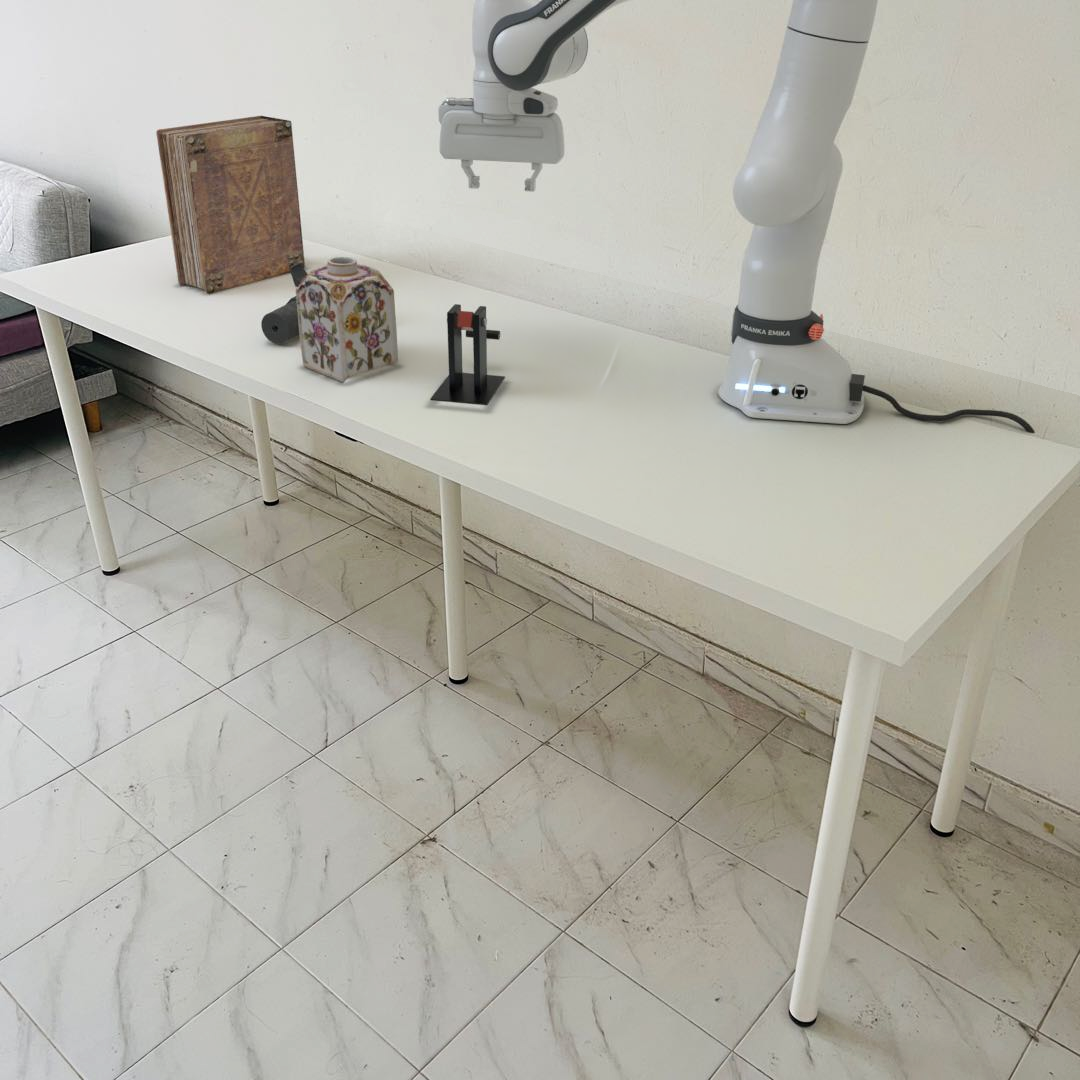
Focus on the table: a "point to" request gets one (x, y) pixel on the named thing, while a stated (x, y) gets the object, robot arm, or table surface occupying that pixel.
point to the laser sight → (284, 314)
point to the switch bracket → (458, 383)
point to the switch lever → (467, 324)
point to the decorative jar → (346, 319)
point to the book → (231, 201)
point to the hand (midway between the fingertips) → (502, 189)
